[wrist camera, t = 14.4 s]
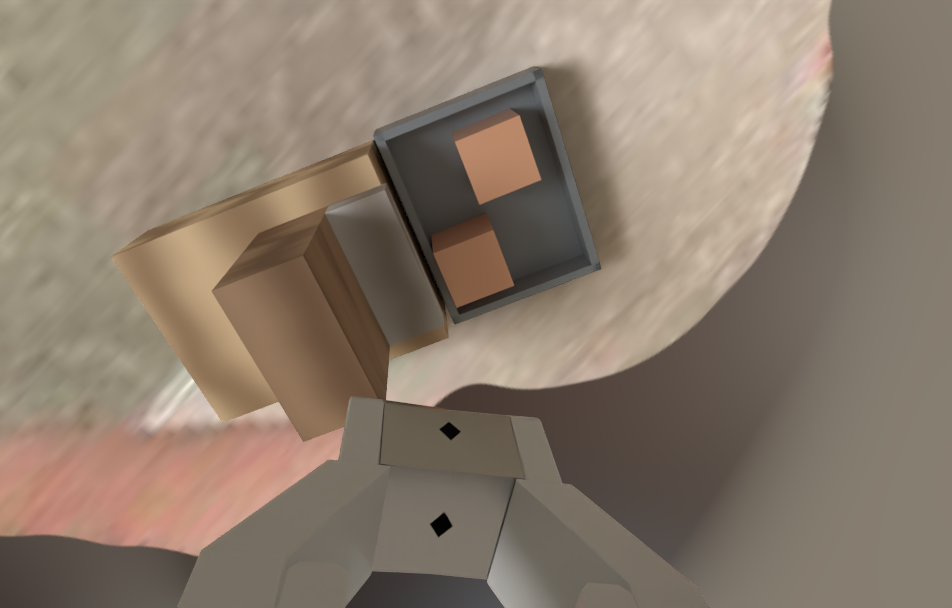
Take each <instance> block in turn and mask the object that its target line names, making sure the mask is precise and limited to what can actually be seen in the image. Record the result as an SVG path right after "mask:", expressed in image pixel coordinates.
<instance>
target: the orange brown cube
mask: <svg viewBox="0 0 952 608" xmlns="http://www.w3.org/2000/svg"><path fill="white" fill-rule="evenodd" d="M431 236H432V247H433V254H434V257H435V259H436V261H437V264H438V266H439V268H440V271H441V273H442V275H443V277H444V280H445V282H446V284H447V287H448V289H449V291H450V294H451V296H452V298H453V301H454V303H455V305H456V308H458V307H460V306H463V305H465V304H468V303H471V302H473V301H476V300H478V299H481V298H484V297H486V296H489V295H491V294H494V293H496V292H499V291H502V290H504V289H507V288H509V287H512V286H514V283H513V280H512V278H511V275H510V273H509V270H508V267H507V265H506V262H505V259H504V257H503V254H502V251H501V249H500V246H499V244H498V241H497V238H496V236H495V233H494V230H493V228H492V226H491V223H490V221H489V219H488V216H487V214H486V213H485V214H483V215H480V216H478V217H475V218H472V219H470V220H467V221H465V222H462V223H460V224H457V225H455V226H452V227H450V228H447V229H445V230H442V231H440V232H437V233H434V234H432V235H431Z"/></svg>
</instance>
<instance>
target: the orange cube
mask: <svg viewBox="0 0 952 608" xmlns="http://www.w3.org/2000/svg"><path fill="white" fill-rule="evenodd" d="M451 134H452V136H453V139H454V141H455V144H456V147H457V149H458V152H459V154H460V157H461V159H462V162H463V165H464V167H465V170H466V172H467V175H468V177H469V180H470V182H471V185H472V188H473V190H474V193H475V195H476V198H477V200H478V202H479V205H480V204H483V203H485V202H488V201H490V200H493V199H495V198H498V197H500V196H502V195H505V194H507V193H510V192H512V191H515V190H517V189H520V188H522V187H525V186H527V185H530V184H532V183H535V182H537V181H540V180H541V177H540V174H539V171H538V168H537V165H536V162H535V160H534V157H533V154H532V151H531V148H530V145H529V142H528V139H527V136H526V133H525V130H524V127H523V124H522V121H521V118H520V115H518V114H517V113H516V112H514V111H513V110H511V109H510V108H509V109H506V110H504V111H501V112H499V113H497V114H494V115H492V116H489V117H487V118H484V119H482V120H480V121H477V122H475V123H472V124H470V125H467V126H465V127H463V128H460V129H458V130H455V131H453V132H451Z"/></svg>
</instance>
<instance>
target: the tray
mask: <svg viewBox="0 0 952 608" xmlns="http://www.w3.org/2000/svg"><path fill="white" fill-rule="evenodd" d="M509 108H510V109H511V110H513V111H514V112H516V113H517V114H518V115H520V118H521V121H522V124H523V127H524V130H525V133H526V136H527V139H528V142H529V145H530V148H531V151H532V154H533V157H534V160H535V162H536V165H537V168H538V171H539V174H540V177H541V180H540V181H537V182H535V183H532V184H530V185H527V186H525V187H522V188H520V189H517V190H515V191H512V192H510V193H507V194H505V195H502V196H500V197H498V198H495V199H493V200H490V201H488V202H485V203H483V204H480V205H479V202H478V200H477V198H476V195H475V193H474V190H473V188H472V185H471V182H470V180H469V177H468V175H467V172H466V170H465V167H464V165H463V162H462V159H461V157H460V154H459V152H458V149H457V147H456V144H455V141H454V139H453V136H452V134H451V132H453V131H455V130H458V129H460V128H463V127H465V126H467V125H470V124H472V123H475V122H477V121H480V120H482V119H484V118H487V117H489V116H492V115H494V114H497V113H499V112H501V111H504V110H506V109H509ZM373 137H374V139H375V141H376V144H377V146H378V148H379V150H380V153H381V155H382V157H383V160H384V162H385V164H386V167H387V169H388V171H389V174H390V176H391V178H392V181H393V183H394V185H395V187H396V190H397V192H398V194H399V197H400V199H401V201H402V204H403V206H404V208H405V211H406V213H407V215H408V218H409V220H410V222H411V224H412V227H413V229H414V231H415V234H416V236H417V238H418V241H419V243H420V245H421V248H422V250H423V252H424V254H425V257H426V259H427V261H428V264H429V266H430V268H431V271H432V273H433V275H434V278H435V280H436V282H437V285H438V287H439V289H440V291H441V294H442V296H443V298H444V301H445V303H446V305H447V308H448V310H449V312H450V315H451V317H452V319H453V321H454V324H457V323H460V322H462V321H465V320H468V319H470V318H473V317H475V316H478V315H481V314H483V313H486V312H489V311H491V310H494V309H497V308H499V307H502V306H505V305H507V304H510V303H512V302H515V301H518V300H520V299H523V298H526V297H528V296H531V295H534V294H536V293H539V292H542V291H544V290H547V289H550V288H552V287H555V286H557V285H560V284H563V283H565V282H568V281H571V280H573V279H576V278H579V277H581V276H584V275H587V274H589V273H592V272H594V271H597V270H600V269H601V266H600V262H599V259H598V256H597V252H596V249H595V246H594V243H593V239H592V236H591V233H590V229H589V226H588V223H587V219H586V216H585V213H584V209H583V206H582V203H581V199H580V196H579V193H578V189H577V186H576V183H575V179H574V176H573V173H572V169H571V166H570V163H569V159H568V156H567V153H566V149H565V146H564V143H563V139H562V136H561V133H560V129H559V126H558V123H557V119H556V116H555V113H554V110H553V106H552V103H551V100H550V96H549V93H548V90H547V86H546V83H545V80H544V76H543V73H542V70H541V68H537V67H531V68H528V69H526V70H523V71H521V72H518V73H516V74H513V75H511V76H508V77H506V78H503V79H501V80H498V81H496V82H493V83H491V84H488V85H486V86H483V87H481V88H479V89H476V90H474V91H471V92H469V93H466V94H464V95H461V96H459V97H456V98H454V99H451V100H449V101H446V102H444V103H441V104H439V105H436V106H434V107H431V108H429V109H426V110H424V111H421V112H419V113H416V114H414V115H411V116H409V117H406V118H404V119H401V120H399V121H396V122H394V123H391V124H389V125H386V126H384V127H381V128H379V129H376V130H375V133H374V135H373ZM485 213H486V214H487V216H488V219H489V221H490V223H491V226H492V228H493V230H494V233H495V236H496V238H497V241H498V244H499V246H500V249H501V251H502V254H503V257H504V259H505V262H506V265H507V267H508V270H509V273H510V275H511V278H512V280H513V283H514V286H512V287H509V288H507V289H504V290H502V291H499V292H496V293H494V294H491V295H489V296H486V297H484V298H481V299H478V300H476V301H473V302H471V303H468V304H465V305H463V306H460V307H458V308H456V305H455V303H454V301H453V298H452V296H451V294H450V291H449V289H448V287H447V284H446V282H445V280H444V277H443V275H442V273H441V271H440V268H439V266H438V264H437V261H436V259H435V257H434V254H433V247H432V236H431V235H432V234H434V233H437V232H440V231H442V230H445V229H447V228H450V227H452V226H455V225H457V224H460V223H462V222H465V221H467V220H470V219H472V218H475V217H478V216H480V215H483V214H485Z"/></svg>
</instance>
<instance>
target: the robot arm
mask: <svg viewBox="0 0 952 608" xmlns="http://www.w3.org/2000/svg"><path fill="white" fill-rule="evenodd" d="M371 571H384V572H385V571H386V572H407V573H428V574H439V575H448V576H458V577H467V578H477V579H487V583H488V584H489V586H490V587H491V589H492V590H493V592H494V593H495V594H496V596H497V597H498V599H499V600H500V601H501V603H502V604H503V606H504V607H505V608H709V607H708V605H707V603H706V601H705V599H704V597H703V595H702V593H701V591H700V589H699V588H697V587H696V586H695V585H694V584H693V583H691V582H690V581H689V580H688V579H686V578H685V577H684V576H683V575H681V574H680V573H679V572H678V571H677V570H675V569H674V568H673V567H671V566H670V565H669V564H668V563H667V562H666V561H664V560H663V559H662V558H661V557H659V556H658V555H657V554H656V553H655V552H653V551H652V550H651V549H650V548H648V547H647V546H646V545H645V544H643V543H642V542H641V541H640V540H638V539H637V538H636V537H635V536H634V535H632V534H631V533H630V532H629V531H628V530H626V529H625V528H624V527H623V526H621V525H620V524H619V523H618V522H617V521H615V520H614V519H613V518H612V517H610V516H609V515H608V514H607V513H606V512H604V511H603V510H602V509H601V508H599V507H598V506H597V505H596V504H594V503H593V502H592V501H591V500H590V499H588V498H587V497H586V496H585V495H583V494H582V493H581V492H580V491H579V490H577V489H576V488H575V487H574V486H572V485H570V484H562V481H561V478H560V475H559V473H558V470H557V467H556V464H555V461H554V458H553V455H552V452H551V450H550V447H549V444H548V441H547V438H546V435H545V432H544V430H543V427H542V424H541V421H540V420H539V419H537V418H532V417H520V416H508V415H507V416H505V415H494V414H485V413H474V412H463V411H453V410H447V409H444V408H436V407H430V406H423V405H415V404H408V403H401V402H394V401H387V400H384V402H383V400H382V399H373V398H364V397H355V396H351V398H350V399H349V404H348V409H347V415H346V420H345V426H344V432H343V437H342V443H341V448H340V454H339V459H338V460H327V461H326V462H325V463H323V464H322V465H320V466H319V467H317V468H316V469H315V470H313V471H312V472H310V473H309V474H308V475H306V476H305V477H303V478H302V479H301V480H299V481H298V482H296V483H295V484H294V485H292V486H291V487H289V488H288V489H287V490H285V491H284V492H282V493H281V494H280V495H278V496H277V497H275V498H274V499H273V500H271V501H270V502H268V503H267V504H266V505H264V506H263V507H261V508H260V509H259V510H257V511H256V512H254V513H253V514H252V515H250V516H249V517H247V518H246V519H245V520H243V521H242V522H240V523H239V524H238V525H236V526H235V527H233V528H232V529H231V530H229V531H228V532H226V533H225V534H224V535H222V536H221V537H219V538H218V539H216V540H215V541H214V542H212V543H211V544H209V545H208V546H207V547H205V548H204V549H202V550H201V552H200V555H199V557H198V559H197V562H196V564H195V567H194V569H193V571H192V574H191V576H190V579H189V581H188V583H187V585H186V588H185V591H184V592H183V595H182V597H181V599H180V602H179V604H178V607H177V608H345V606H346V605H347V604H348V603H349V601H350V600H351V599H352V598H353V596H354V595H355V594H356V593H357V591H358V590H359V589H360V588H361V586H362V585H363V584H364V582H365V581H366V580H367V579H368V577H369V576H370V575H371Z"/></svg>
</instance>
